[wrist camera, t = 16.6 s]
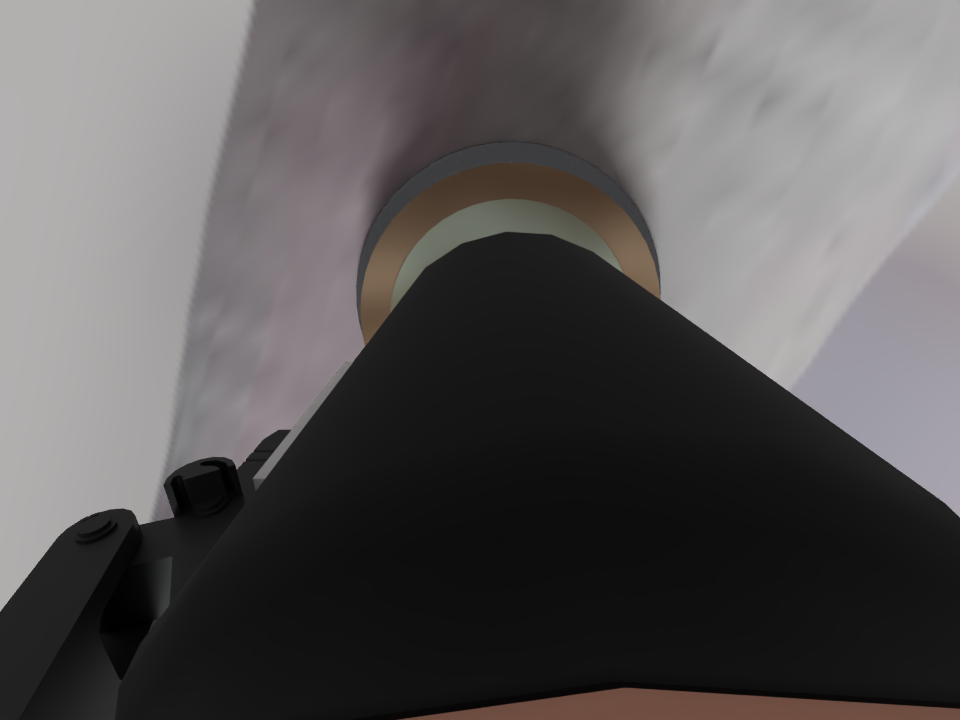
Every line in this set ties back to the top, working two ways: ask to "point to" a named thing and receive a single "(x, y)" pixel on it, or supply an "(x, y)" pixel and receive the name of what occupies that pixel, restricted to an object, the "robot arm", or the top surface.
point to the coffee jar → (563, 531)
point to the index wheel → (498, 228)
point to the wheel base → (495, 155)
